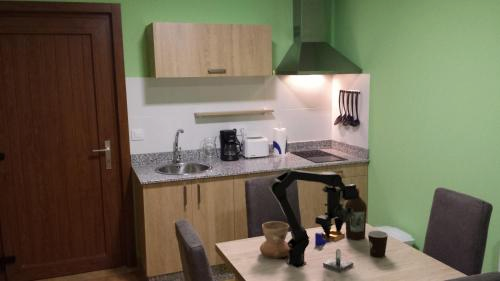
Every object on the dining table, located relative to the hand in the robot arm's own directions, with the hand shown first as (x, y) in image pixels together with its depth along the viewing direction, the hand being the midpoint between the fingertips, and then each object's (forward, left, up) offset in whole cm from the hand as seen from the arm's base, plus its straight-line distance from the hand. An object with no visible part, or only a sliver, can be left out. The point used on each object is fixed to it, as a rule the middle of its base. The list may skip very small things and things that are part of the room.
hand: (333, 235), depth 198 cm
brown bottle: (+31, +11, -11) cm, 34 cm away
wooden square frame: (0, 0, -1) cm, 1 cm away
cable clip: (+14, +18, -12) cm, 26 cm away
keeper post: (-3, -5, -11) cm, 13 cm away
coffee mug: (+20, -9, -11) cm, 24 cm away
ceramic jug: (-13, +23, -11) cm, 29 cm away
